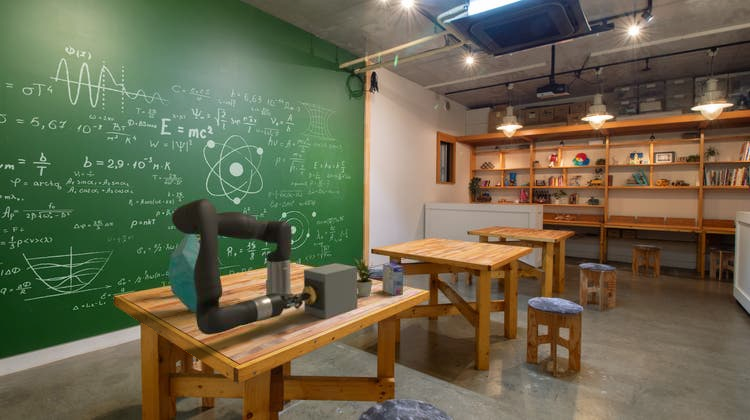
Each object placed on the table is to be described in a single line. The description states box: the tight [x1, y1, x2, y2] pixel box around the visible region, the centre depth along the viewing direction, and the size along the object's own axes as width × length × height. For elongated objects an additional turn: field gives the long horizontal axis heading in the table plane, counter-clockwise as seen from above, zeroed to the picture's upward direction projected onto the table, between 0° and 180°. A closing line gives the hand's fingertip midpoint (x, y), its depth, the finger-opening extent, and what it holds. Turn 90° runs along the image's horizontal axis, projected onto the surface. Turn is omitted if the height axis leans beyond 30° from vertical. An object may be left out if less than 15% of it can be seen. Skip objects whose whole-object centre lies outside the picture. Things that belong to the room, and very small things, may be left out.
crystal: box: [167, 233, 200, 313], centre depth 139 cm, size 12×14×30 cm
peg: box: [301, 286, 318, 305], centre depth 137 cm, size 15×6×6 cm, turn 139°
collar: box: [303, 277, 324, 311], centre depth 134 cm, size 1×10×10 cm, turn 49°
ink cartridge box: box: [382, 259, 404, 296], centre depth 163 cm, size 10×6×14 cm, turn 27°
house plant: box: [348, 258, 378, 298], centre depth 161 cm, size 14×14×16 cm
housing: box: [303, 262, 358, 320], centre depth 140 cm, size 16×12×16 cm
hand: (307, 295), depth 132 cm, fingers closed
